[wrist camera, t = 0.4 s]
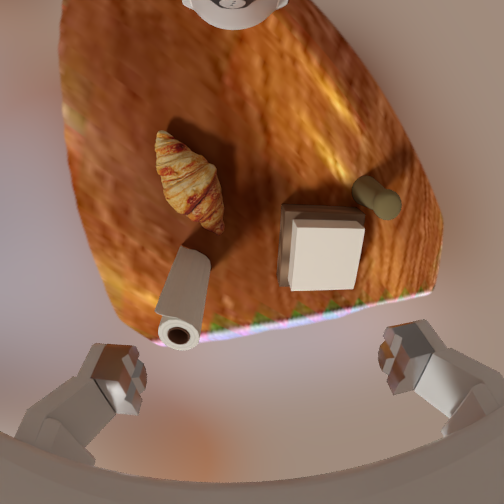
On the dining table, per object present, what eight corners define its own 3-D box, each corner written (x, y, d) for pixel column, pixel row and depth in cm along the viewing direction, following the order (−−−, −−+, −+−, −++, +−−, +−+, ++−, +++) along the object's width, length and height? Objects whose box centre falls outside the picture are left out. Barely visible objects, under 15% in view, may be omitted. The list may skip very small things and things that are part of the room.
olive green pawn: (384, 185, 52) (412, 201, 42) (369, 210, 54) (394, 231, 44) (361, 169, 50) (388, 182, 40) (346, 196, 53) (369, 214, 43)
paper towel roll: (211, 278, 59) (200, 353, 40) (182, 276, 59) (160, 349, 39) (211, 246, 56) (198, 315, 37) (180, 244, 56) (154, 311, 36)
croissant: (156, 138, 49) (125, 154, 44) (188, 111, 43) (155, 125, 37) (214, 228, 57) (191, 252, 52) (252, 215, 50) (230, 241, 45)
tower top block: (292, 219, 50) (297, 227, 46) (356, 220, 50) (365, 228, 47) (287, 279, 55) (291, 290, 51) (346, 278, 55) (353, 288, 52)
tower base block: (281, 203, 53) (285, 211, 49) (355, 206, 54) (365, 214, 50) (276, 273, 60) (279, 286, 55) (344, 272, 61) (351, 285, 56)
